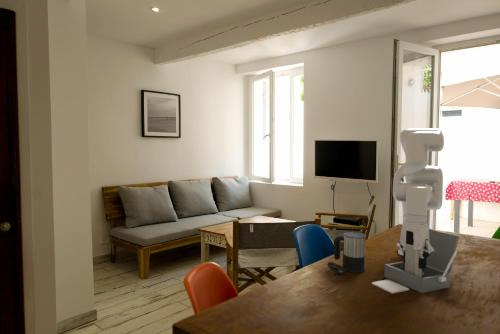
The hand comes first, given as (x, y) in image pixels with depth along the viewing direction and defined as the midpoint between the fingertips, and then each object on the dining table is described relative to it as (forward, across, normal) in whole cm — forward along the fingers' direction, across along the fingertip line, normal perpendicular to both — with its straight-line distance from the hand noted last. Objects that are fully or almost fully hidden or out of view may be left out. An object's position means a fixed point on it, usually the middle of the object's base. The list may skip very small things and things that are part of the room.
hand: (414, 264), depth 142 cm
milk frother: (+7, -21, -15) cm, 27 cm away
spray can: (+7, 0, 0) cm, 7 cm away
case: (+7, +1, +3) cm, 7 cm away
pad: (+7, 0, -12) cm, 14 cm away
